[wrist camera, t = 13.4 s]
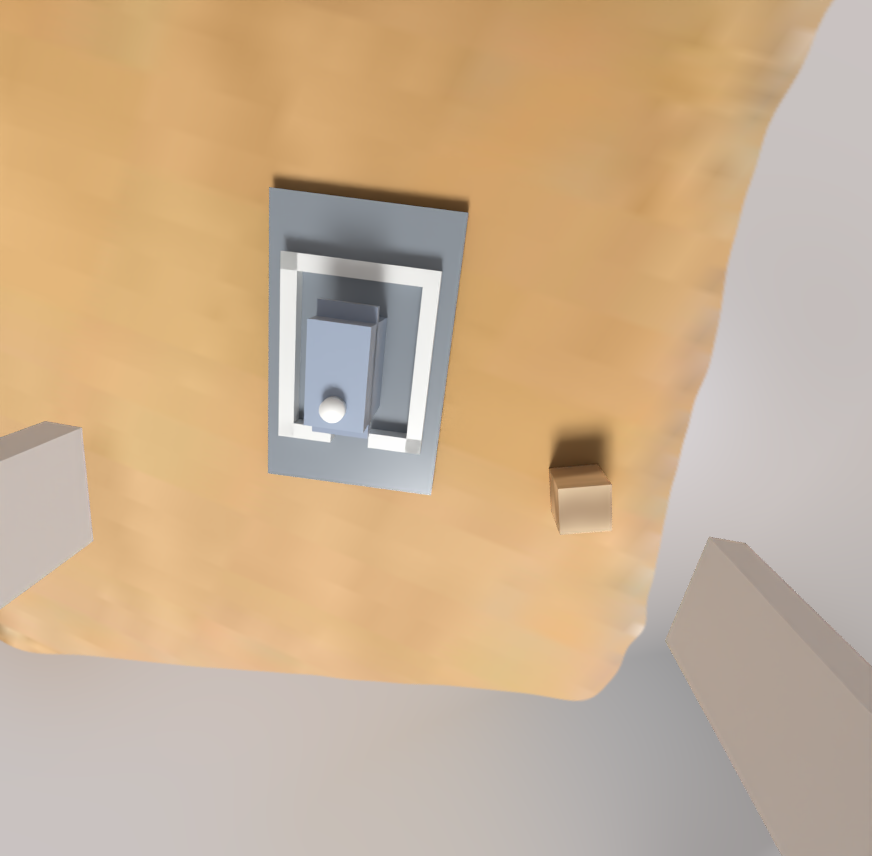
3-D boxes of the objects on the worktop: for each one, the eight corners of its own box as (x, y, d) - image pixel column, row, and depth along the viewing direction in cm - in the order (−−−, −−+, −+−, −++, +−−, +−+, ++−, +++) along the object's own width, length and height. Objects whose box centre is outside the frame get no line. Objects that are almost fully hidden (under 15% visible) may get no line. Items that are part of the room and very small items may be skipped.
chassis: (274, 189, 33) (262, 184, 31) (468, 214, 33) (468, 210, 31) (272, 468, 40) (262, 478, 38) (431, 489, 40) (429, 501, 38)
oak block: (548, 467, 39) (558, 489, 35) (597, 463, 38) (611, 484, 35) (550, 509, 40) (560, 534, 36) (597, 506, 40) (611, 530, 36)
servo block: (335, 295, 34) (303, 301, 27) (388, 302, 34) (370, 309, 27) (329, 412, 37) (299, 444, 30) (378, 419, 37) (359, 452, 30)
